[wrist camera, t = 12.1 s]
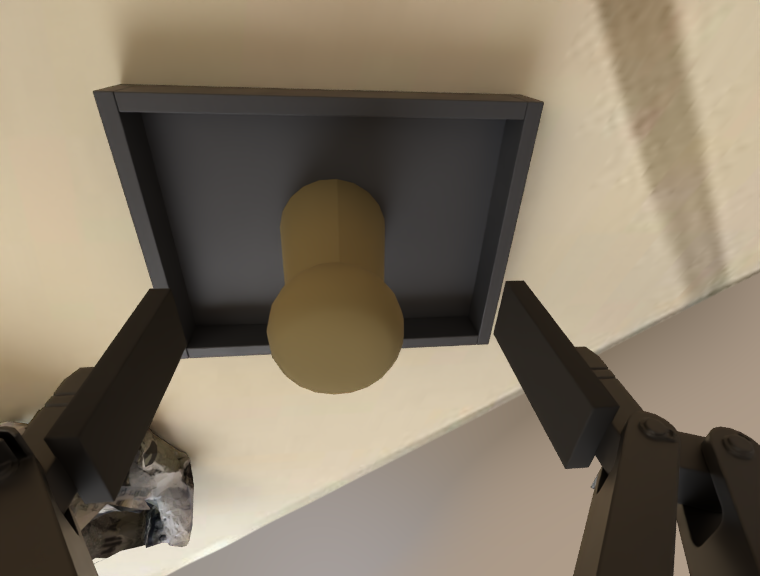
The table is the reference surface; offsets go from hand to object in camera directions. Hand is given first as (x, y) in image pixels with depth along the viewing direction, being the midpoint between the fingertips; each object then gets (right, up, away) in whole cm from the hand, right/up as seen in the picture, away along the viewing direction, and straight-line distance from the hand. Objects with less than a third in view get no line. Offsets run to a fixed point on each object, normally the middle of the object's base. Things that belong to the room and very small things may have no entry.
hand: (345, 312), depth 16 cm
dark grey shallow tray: (-1, +5, +7) cm, 9 cm away
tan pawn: (-1, +4, +7) cm, 9 cm away
